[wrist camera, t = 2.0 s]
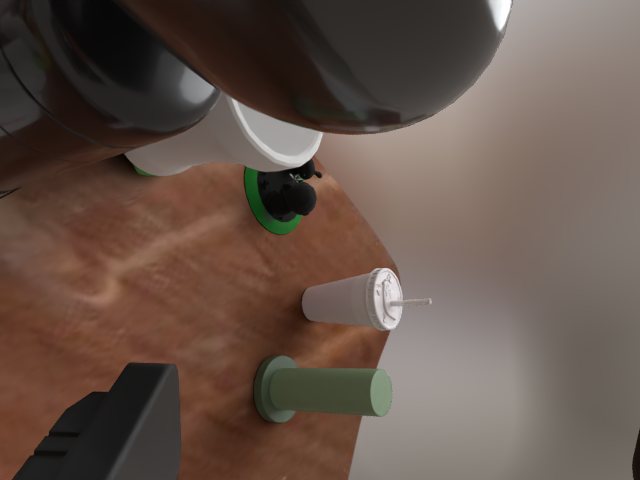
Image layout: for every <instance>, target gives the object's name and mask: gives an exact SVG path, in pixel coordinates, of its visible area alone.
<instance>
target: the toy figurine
mask: <svg viewBox="0 0 640 480" xmlns="http://www.w3.org/2000/svg"><path fill="white" fill-rule="evenodd" d="M314 174H315V175H316V176H317V177H318V178H321V177H322V174H321V173H320V172H317V171H315V166H314V162H313V160H312V159H310V160H309V161H307V162H306V163H305V164H303V165H302V166H300V167H296V168H291V169H286V170H281V171H273V172H262V171H258V170H255V169H251V168H248V167H246V169H245V186H246V194H247V197H248V200H249V203H250V206H251V209H252V211H253V212H254V214H255V216H256V217H257V219H258V221H259V222H260V223H261V224H262V225H263V226H264V227H265V228H266V229H267V230H269V231H271V232H273V233H276V234H287V233H289V232H290V231H292V230H294V229H295V228H296V226H297V225H298V223H299V222H300V220H301V216H302V215H303V216H306V215H308V214H309V213H310V212H311V211H312V210H313V208H314V207H315V204H316V193H315V190H314V188H313V187H311V186H310V185H309V184H308V183H305V182H303V179H305V180H306V179H310V178H311V177H312V176H313V175H314Z"/></svg>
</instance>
